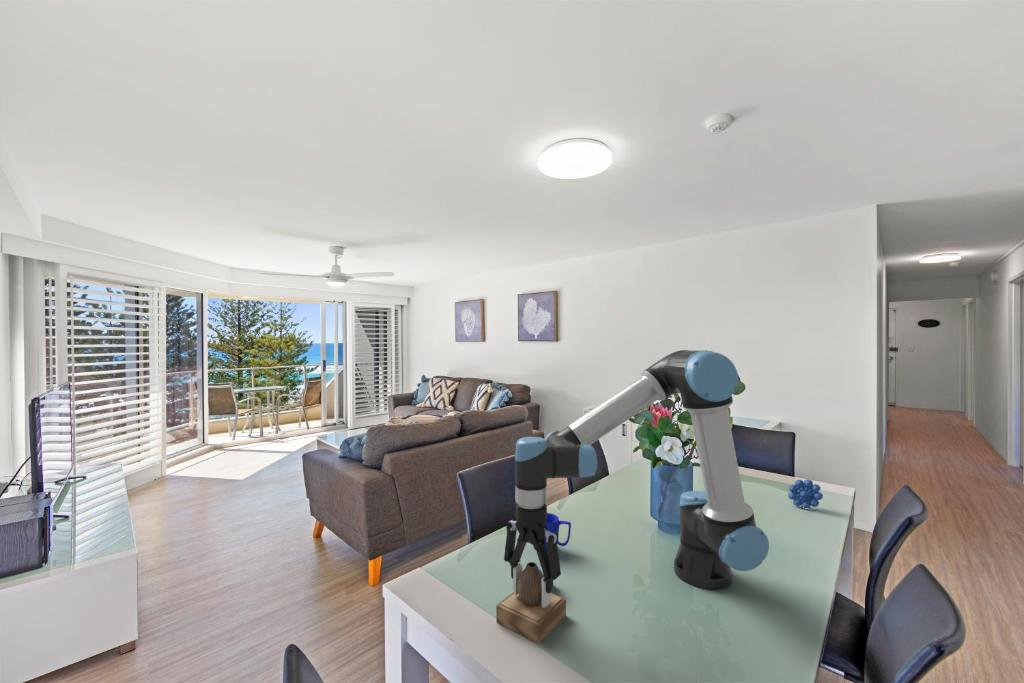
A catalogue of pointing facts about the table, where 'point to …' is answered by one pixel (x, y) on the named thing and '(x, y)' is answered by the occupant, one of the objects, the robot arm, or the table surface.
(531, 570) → the vase
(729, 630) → the table surface
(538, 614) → the plinth
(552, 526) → the mug
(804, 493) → the grapes
